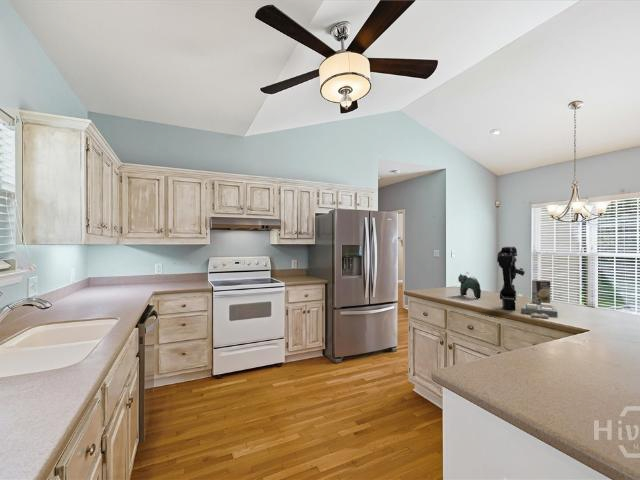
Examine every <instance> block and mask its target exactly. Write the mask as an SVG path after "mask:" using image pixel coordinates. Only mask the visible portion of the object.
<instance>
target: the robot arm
mask: <svg viewBox="0 0 640 480" xmlns="http://www.w3.org/2000/svg"><path fill="white" fill-rule="evenodd" d="M517 250H518V249H517V248H516V246H504V247H501V250H499V252H498V253H497V257H496V258H497V259H496V261H497V263H498V267H500V268H501V269H502V271H501V272H502V277H503V278H502V279H503V285H502V288H501V290H500V292H499V299H500V300H502V301H501V303H502V305H501V307H502V308H501V309H503V310H507V311H516V310H517V309H516V302H515V301H517V290H516V289H515V285H514V283H513V282H514V279H516V277H517V275H520V276H522V277H523V276H524V275H525V274H526V271H525V270H524V268H522V267H520V268H517V267H516V262H517V258H516V257H518V251H517Z"/></svg>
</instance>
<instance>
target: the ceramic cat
mask: <svg viewBox="0 0 640 480" xmlns="http://www.w3.org/2000/svg"><path fill="white" fill-rule="evenodd" d="M467 274H468V275H470V273H469V272H468V271H466V273H465V274H464V275H463V274H462V273H460V274H459V276H458V279H457V280H458V282H459V283H460V289H459V291H460V294H461V295H467V292H468V290H469V289H470V290H471V291H472V292H473V296H474V298H475V297H476V298H480V299H481V297H482V296H481V295H482V290H481V285H480V284H481V283H480V282H479V281H478V279H477V278H476V277H474V276H470V277H468V275H467ZM461 295H460V296H461Z"/></svg>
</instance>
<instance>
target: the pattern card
mask: <svg viewBox="0 0 640 480" xmlns="http://www.w3.org/2000/svg"><path fill="white" fill-rule="evenodd" d="M530 316H531V318H535V317H536V318H537V319H547V320H549V316H548V314H539V313H531V314H530Z"/></svg>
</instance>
